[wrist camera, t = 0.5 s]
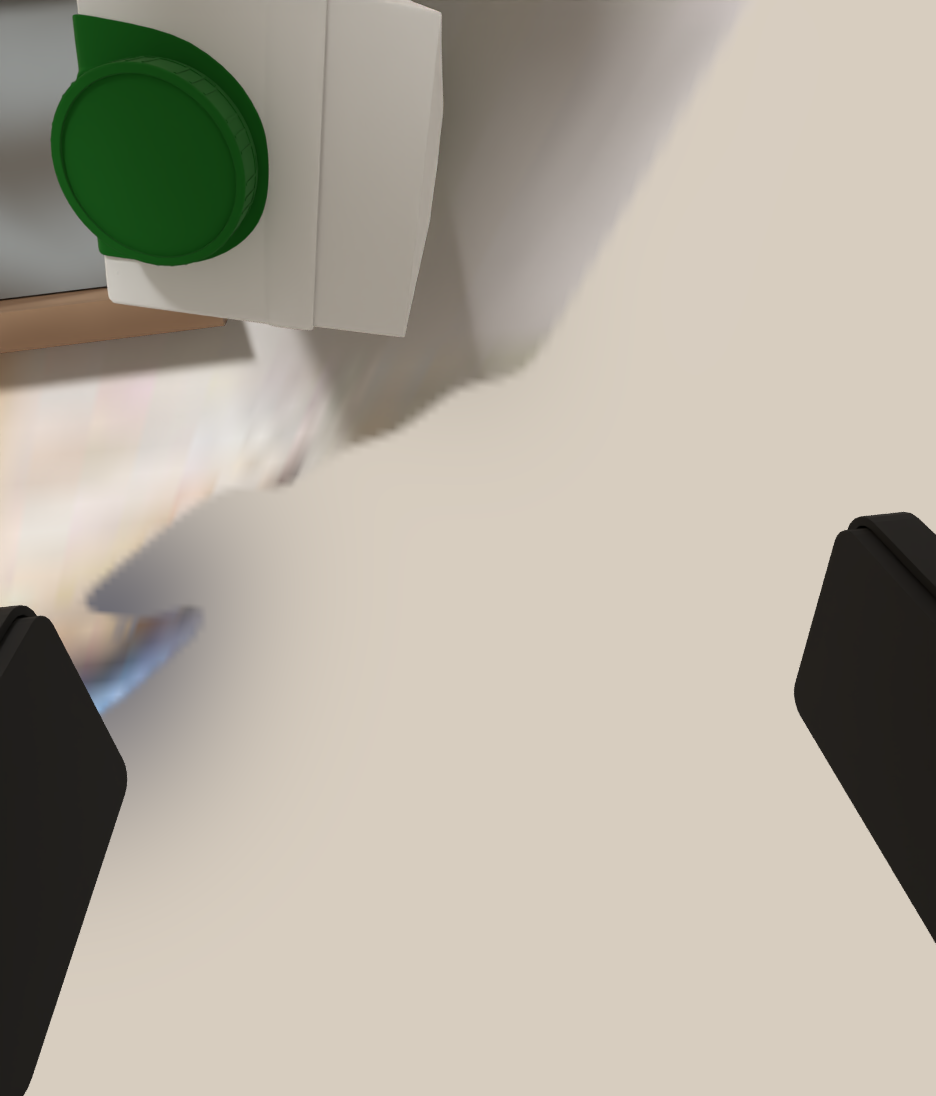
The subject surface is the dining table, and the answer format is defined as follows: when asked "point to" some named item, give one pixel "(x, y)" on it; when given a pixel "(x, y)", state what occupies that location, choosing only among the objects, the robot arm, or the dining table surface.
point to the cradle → (51, 202)
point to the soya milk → (256, 155)
